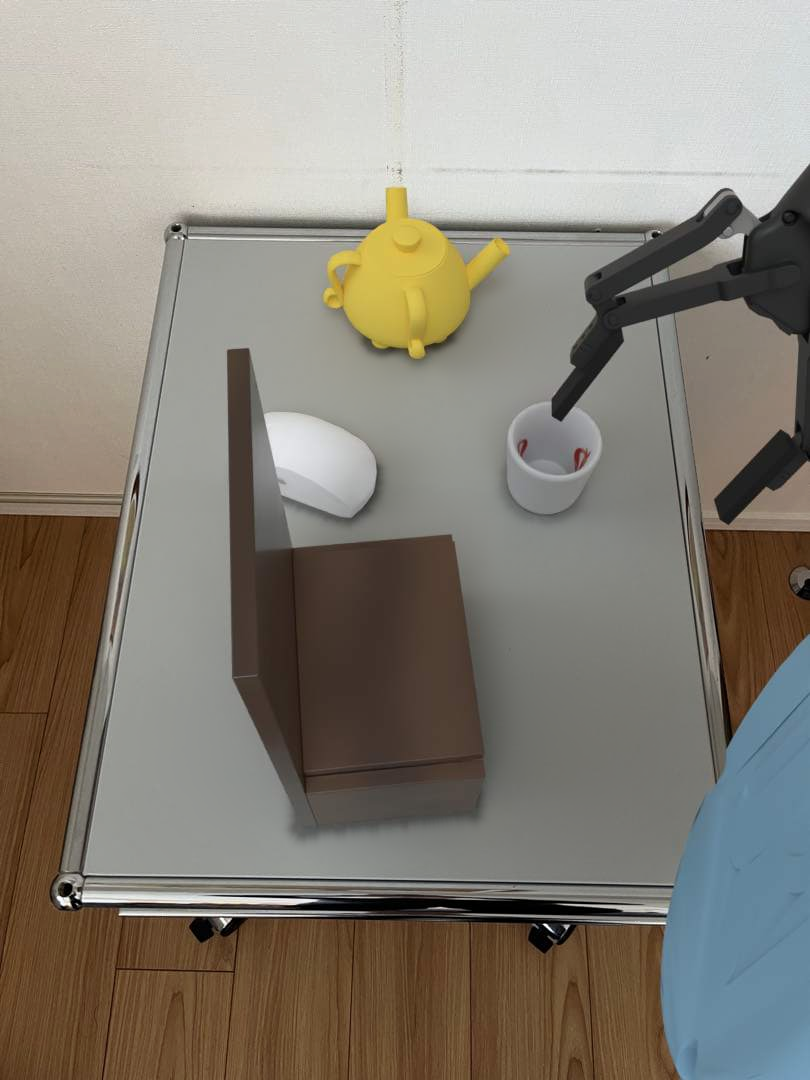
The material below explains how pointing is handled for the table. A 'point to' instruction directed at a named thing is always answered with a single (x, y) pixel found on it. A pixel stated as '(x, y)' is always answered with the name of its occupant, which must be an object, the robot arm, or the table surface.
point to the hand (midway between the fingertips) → (639, 462)
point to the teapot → (407, 280)
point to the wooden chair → (346, 650)
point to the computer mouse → (320, 463)
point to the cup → (550, 457)
